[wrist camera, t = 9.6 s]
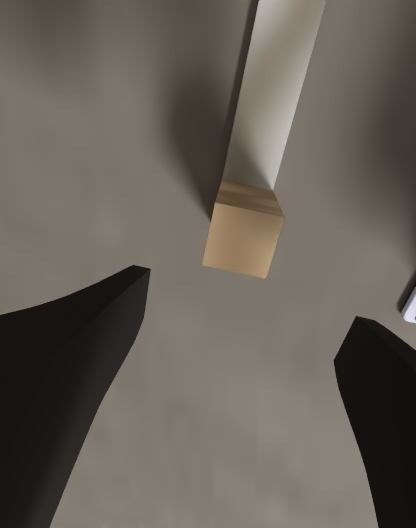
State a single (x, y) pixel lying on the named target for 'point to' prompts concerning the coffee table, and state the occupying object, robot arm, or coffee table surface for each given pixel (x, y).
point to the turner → (261, 137)
